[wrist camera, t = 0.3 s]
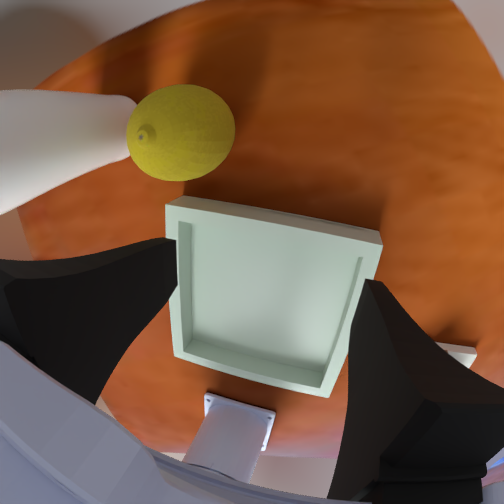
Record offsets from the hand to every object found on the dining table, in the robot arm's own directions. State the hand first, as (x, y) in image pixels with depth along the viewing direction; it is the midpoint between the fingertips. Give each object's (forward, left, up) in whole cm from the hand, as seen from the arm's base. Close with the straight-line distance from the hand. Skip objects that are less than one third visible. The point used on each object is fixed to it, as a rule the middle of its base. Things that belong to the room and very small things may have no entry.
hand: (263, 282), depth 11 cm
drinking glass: (+5, +15, -10) cm, 18 cm away
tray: (-7, +2, -10) cm, 13 cm away
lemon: (+5, +7, -10) cm, 13 cm away
